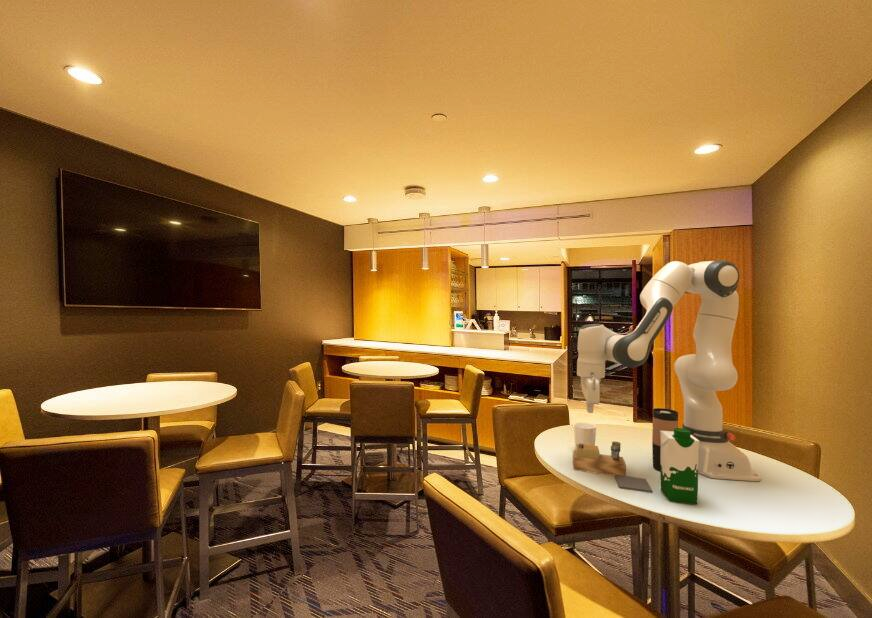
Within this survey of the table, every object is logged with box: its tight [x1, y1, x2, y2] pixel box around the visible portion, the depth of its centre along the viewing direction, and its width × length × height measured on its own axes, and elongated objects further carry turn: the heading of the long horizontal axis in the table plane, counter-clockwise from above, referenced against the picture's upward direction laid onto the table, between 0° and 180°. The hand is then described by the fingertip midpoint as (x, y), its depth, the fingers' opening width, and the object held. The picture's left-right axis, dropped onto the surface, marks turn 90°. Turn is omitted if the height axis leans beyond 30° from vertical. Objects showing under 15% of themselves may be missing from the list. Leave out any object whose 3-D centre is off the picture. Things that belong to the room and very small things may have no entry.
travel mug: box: [651, 407, 679, 472], centre depth 131 cm, size 8×8×20 cm
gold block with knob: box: [575, 443, 600, 460], centre depth 131 cm, size 7×5×4 cm
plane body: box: [572, 450, 627, 476], centre depth 129 cm, size 16×7×7 cm, turn 73°
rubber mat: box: [614, 475, 654, 494], centre depth 118 cm, size 9×9×1 cm
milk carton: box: [659, 427, 699, 506], centre depth 110 cm, size 9×9×20 cm
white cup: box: [573, 422, 597, 451], centre depth 147 cm, size 8×8×10 cm
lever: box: [610, 441, 622, 458], centre depth 125 cm, size 10×3×4 cm, turn 150°
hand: (589, 411), depth 130 cm, fingers closed
